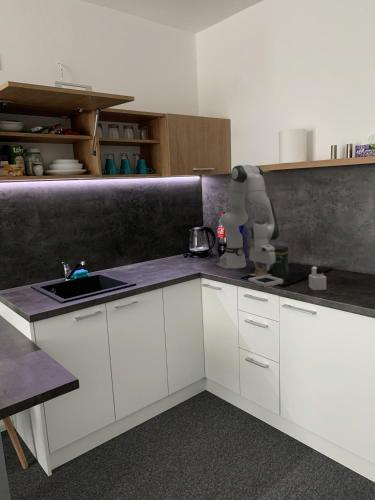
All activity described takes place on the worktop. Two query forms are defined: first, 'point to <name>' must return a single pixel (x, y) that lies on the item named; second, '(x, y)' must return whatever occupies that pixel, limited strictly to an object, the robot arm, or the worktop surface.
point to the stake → (256, 275)
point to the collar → (261, 271)
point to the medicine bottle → (317, 278)
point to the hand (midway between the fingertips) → (262, 269)
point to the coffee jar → (281, 260)
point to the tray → (268, 284)
